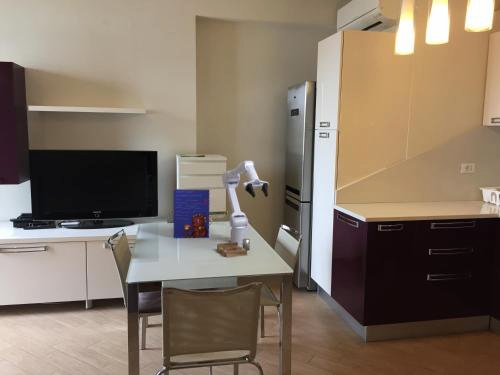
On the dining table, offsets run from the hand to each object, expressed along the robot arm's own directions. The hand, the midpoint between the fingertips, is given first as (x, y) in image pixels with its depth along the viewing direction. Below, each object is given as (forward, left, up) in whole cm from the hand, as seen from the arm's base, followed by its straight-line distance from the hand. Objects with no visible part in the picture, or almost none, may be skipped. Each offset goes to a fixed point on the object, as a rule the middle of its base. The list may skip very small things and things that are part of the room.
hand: (260, 196), depth 235 cm
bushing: (-12, -2, -32) cm, 34 cm away
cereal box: (-51, -22, -32) cm, 64 cm away
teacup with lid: (-68, -8, -32) cm, 76 cm away
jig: (-9, -12, -32) cm, 36 cm away
